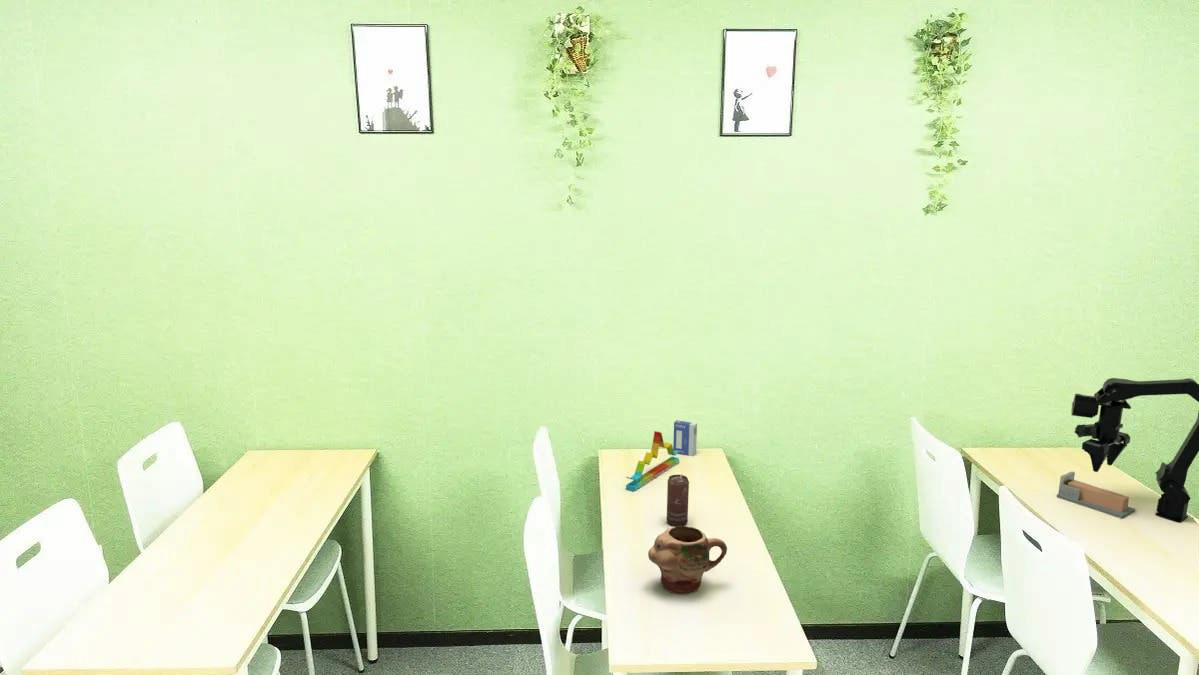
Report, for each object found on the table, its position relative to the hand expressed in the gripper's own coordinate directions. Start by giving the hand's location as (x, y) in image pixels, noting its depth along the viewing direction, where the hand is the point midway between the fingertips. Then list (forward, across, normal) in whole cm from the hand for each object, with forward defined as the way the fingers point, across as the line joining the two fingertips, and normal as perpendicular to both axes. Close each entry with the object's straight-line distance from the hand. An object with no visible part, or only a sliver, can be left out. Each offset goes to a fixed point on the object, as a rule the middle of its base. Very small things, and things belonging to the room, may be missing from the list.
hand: (1102, 468), depth 250 cm
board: (+12, 0, 0) cm, 12 cm away
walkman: (+12, +77, -106) cm, 131 cm away
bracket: (+12, 0, -6) cm, 14 cm away
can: (+12, +116, -65) cm, 133 cm away
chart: (+12, +99, -96) cm, 139 cm away
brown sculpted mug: (+12, +137, -37) cm, 142 cm away
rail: (+11, 0, 0) cm, 11 cm away
